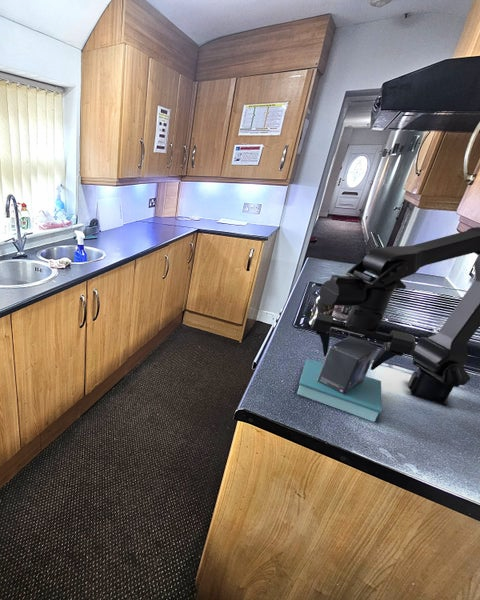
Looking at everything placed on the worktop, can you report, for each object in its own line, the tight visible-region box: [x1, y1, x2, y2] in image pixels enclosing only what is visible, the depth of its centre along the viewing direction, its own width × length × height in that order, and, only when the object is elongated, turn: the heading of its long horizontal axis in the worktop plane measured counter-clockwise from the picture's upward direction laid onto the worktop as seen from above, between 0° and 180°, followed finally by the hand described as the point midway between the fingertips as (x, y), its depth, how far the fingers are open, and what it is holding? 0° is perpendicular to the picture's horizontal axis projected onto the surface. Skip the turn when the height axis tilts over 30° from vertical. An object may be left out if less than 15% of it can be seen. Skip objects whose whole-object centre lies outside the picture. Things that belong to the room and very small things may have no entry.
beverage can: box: [308, 295, 336, 326], centre depth 115 cm, size 6×6×12 cm
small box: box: [317, 335, 379, 394], centre depth 81 cm, size 11×6×10 cm, turn 120°
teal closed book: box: [296, 358, 383, 423], centre depth 83 cm, size 16×14×4 cm
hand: (347, 362), depth 80 cm, fingers open, 9 cm apart
